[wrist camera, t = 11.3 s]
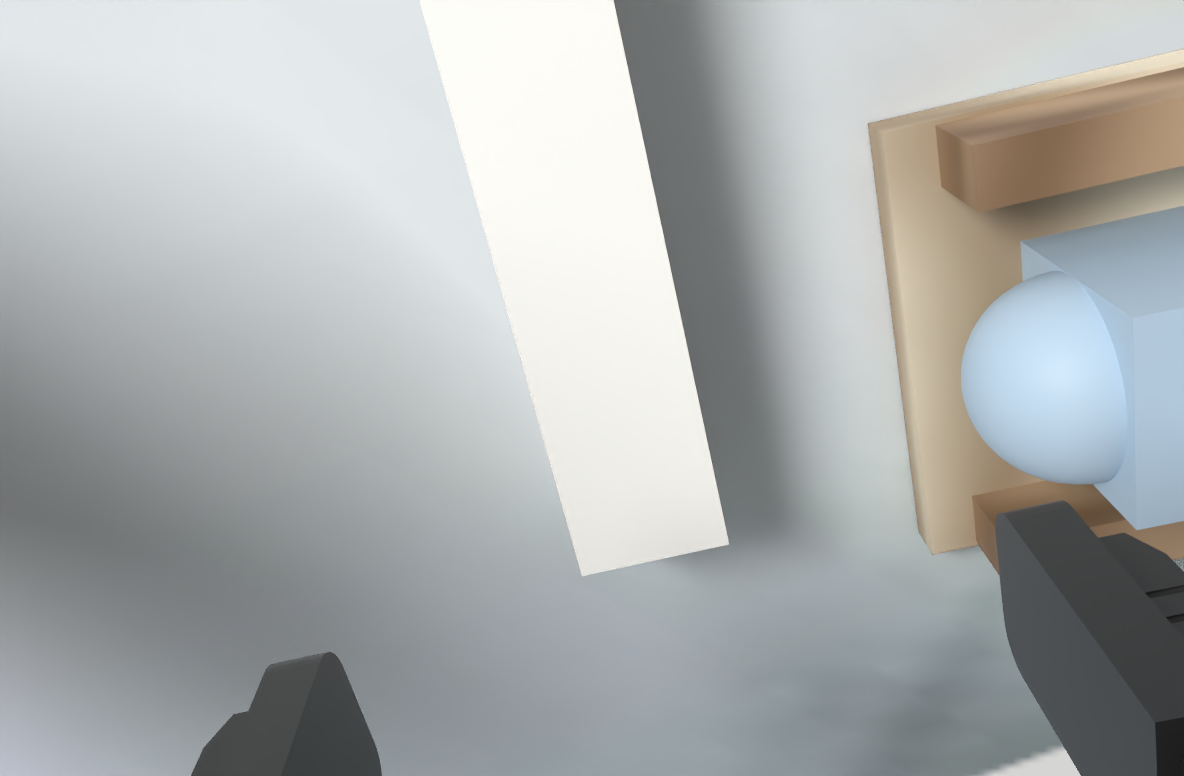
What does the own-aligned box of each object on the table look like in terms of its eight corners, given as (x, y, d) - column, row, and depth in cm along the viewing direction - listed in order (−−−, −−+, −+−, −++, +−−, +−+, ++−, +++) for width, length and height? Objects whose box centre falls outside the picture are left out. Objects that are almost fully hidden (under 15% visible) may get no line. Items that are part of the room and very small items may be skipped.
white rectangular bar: (578, 491, 24) (581, 576, 21) (359, -309, 18) (317, -359, 15) (706, 462, 24) (729, 544, 21) (530, -355, 18) (524, -416, 15)
